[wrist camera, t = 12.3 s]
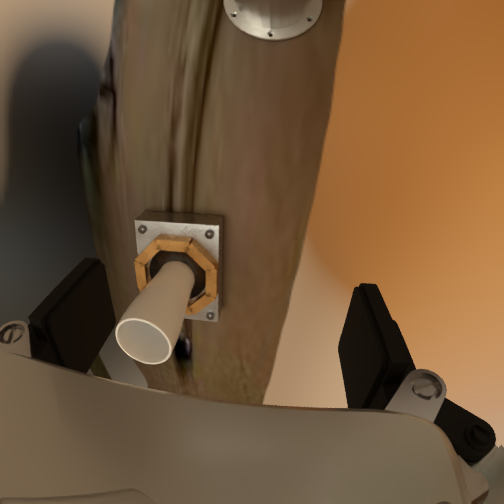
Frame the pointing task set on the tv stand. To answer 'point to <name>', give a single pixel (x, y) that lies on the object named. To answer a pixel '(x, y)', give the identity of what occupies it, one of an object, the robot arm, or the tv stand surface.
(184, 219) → the octagon ring knob plate
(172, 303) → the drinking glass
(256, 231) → the tv stand surface
